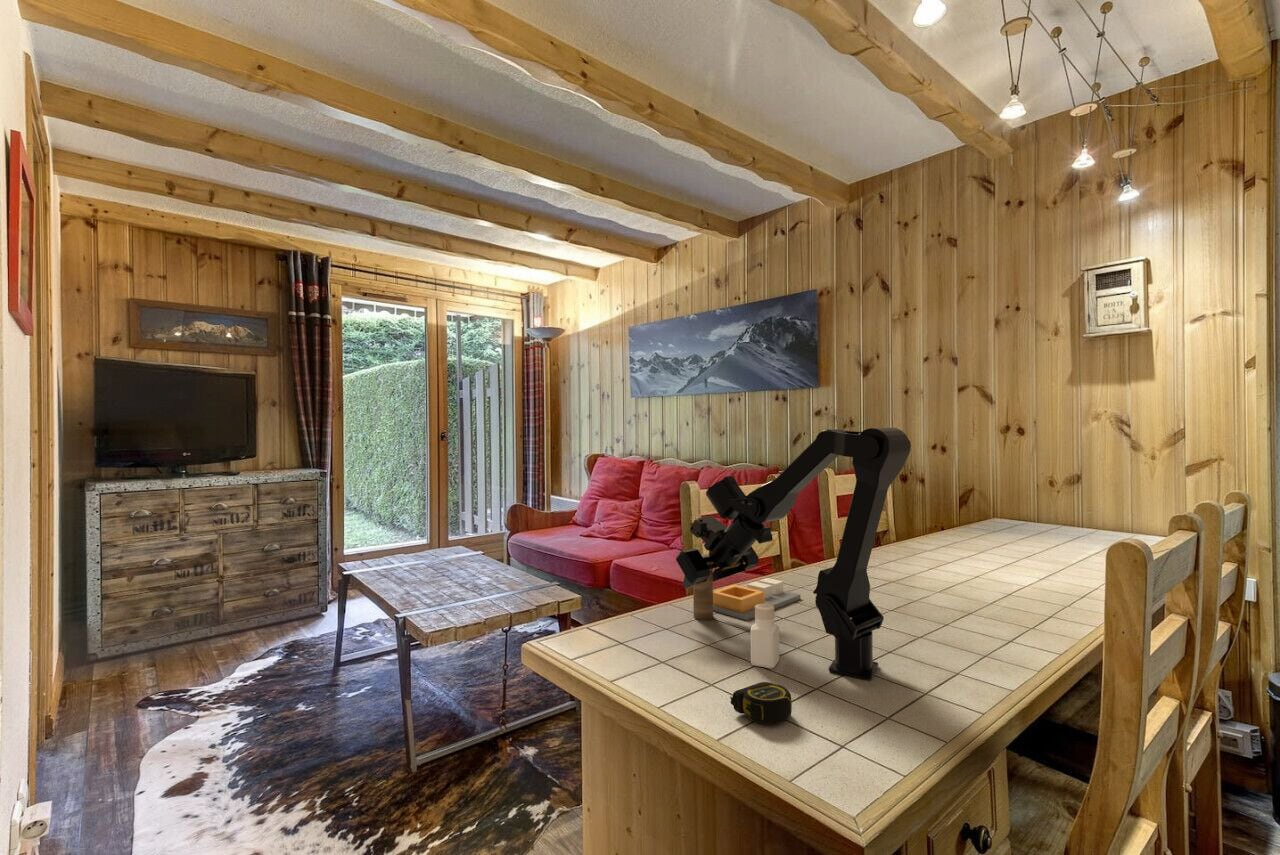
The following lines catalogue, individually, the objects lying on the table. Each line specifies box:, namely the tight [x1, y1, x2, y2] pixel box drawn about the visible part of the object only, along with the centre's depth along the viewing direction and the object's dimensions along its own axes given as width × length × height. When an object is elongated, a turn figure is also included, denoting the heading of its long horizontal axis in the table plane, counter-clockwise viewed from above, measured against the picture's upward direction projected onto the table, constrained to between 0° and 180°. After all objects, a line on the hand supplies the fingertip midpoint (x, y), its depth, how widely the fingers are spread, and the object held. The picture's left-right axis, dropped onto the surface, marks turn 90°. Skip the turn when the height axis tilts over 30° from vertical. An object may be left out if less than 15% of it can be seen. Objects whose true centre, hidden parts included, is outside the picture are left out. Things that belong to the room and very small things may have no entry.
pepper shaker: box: [750, 604, 780, 669], centre depth 98 cm, size 4×4×10 cm
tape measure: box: [729, 681, 793, 725], centre depth 81 cm, size 7×7×4 cm
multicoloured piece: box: [713, 577, 801, 621], centre depth 130 cm, size 20×12×4 cm, turn 134°
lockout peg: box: [692, 553, 714, 621], centre depth 121 cm, size 4×4×12 cm
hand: (698, 583), depth 123 cm, fingers open, 8 cm apart
